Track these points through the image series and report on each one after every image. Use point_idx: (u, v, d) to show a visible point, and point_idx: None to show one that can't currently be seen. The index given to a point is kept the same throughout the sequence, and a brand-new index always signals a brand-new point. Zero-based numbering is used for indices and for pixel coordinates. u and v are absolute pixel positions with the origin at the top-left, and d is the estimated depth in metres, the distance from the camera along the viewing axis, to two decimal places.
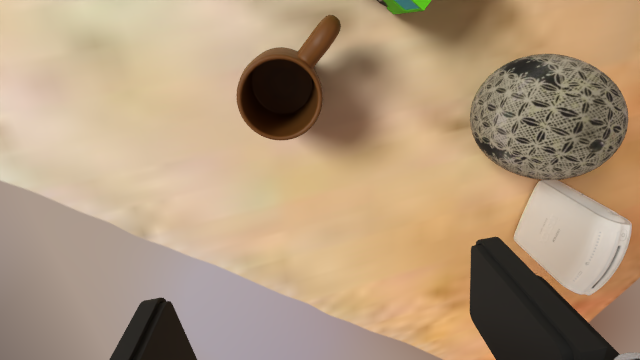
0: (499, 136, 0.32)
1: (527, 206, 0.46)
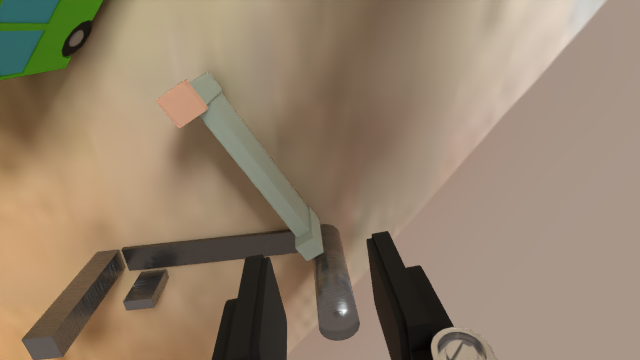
0: None
1: None
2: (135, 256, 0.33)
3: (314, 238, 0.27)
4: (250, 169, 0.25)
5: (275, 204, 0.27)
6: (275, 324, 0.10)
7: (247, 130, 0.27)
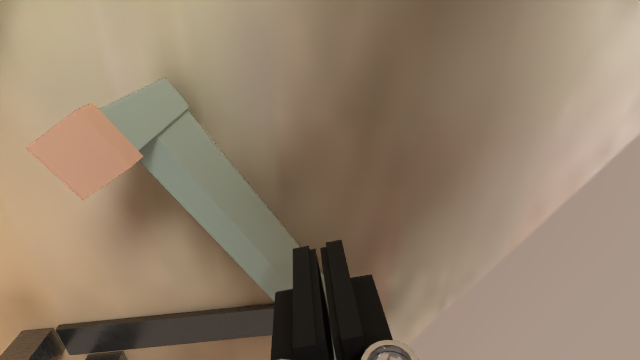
0: None
1: None
2: (76, 337, 0.23)
3: None
4: (232, 243, 0.15)
5: None
6: (325, 315, 0.10)
7: (231, 170, 0.17)
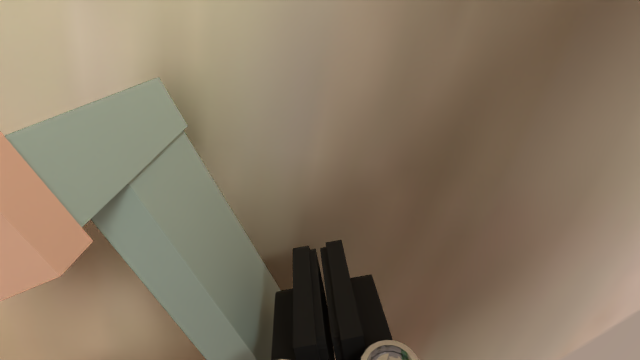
0: None
1: None
2: None
3: None
4: (225, 356, 0.09)
5: None
6: (326, 315, 0.10)
7: (233, 226, 0.12)
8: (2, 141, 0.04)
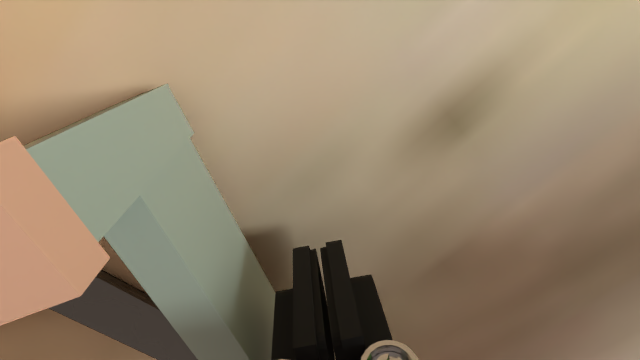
0: None
1: None
2: None
3: None
4: None
5: None
6: (326, 315, 0.10)
7: (235, 235, 0.12)
8: (25, 157, 0.04)
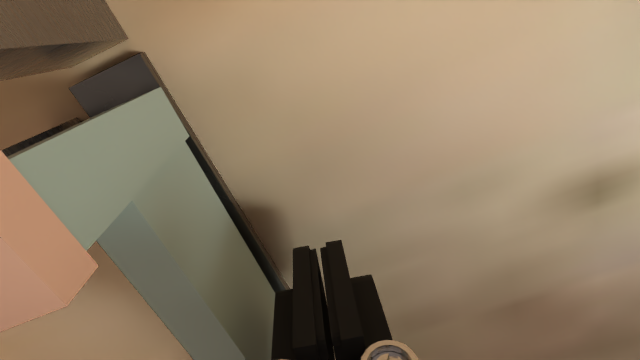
0: None
1: None
2: None
3: None
4: None
5: None
6: (326, 315, 0.10)
7: (233, 237, 0.12)
8: (8, 167, 0.04)
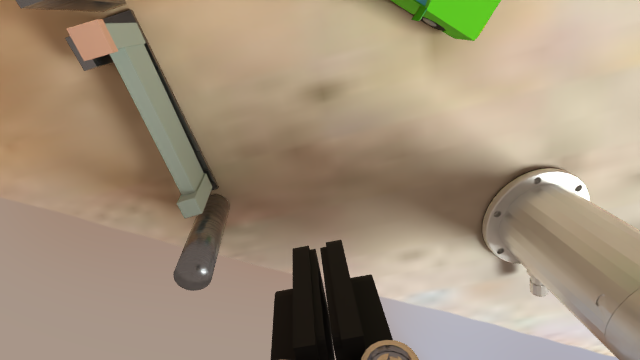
0: None
1: None
2: None
3: (196, 198, 0.30)
4: (150, 120, 0.27)
5: (167, 159, 0.29)
6: (325, 315, 0.10)
7: (160, 87, 0.30)
8: (104, 23, 0.22)
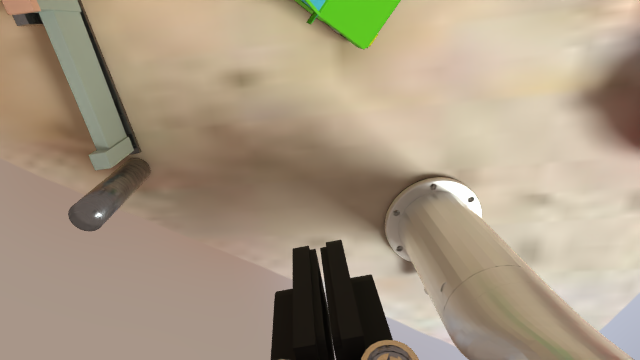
0: None
1: None
2: None
3: (107, 154, 0.33)
4: (72, 78, 0.31)
5: (85, 115, 0.32)
6: (325, 315, 0.10)
7: (91, 52, 0.33)
8: None
